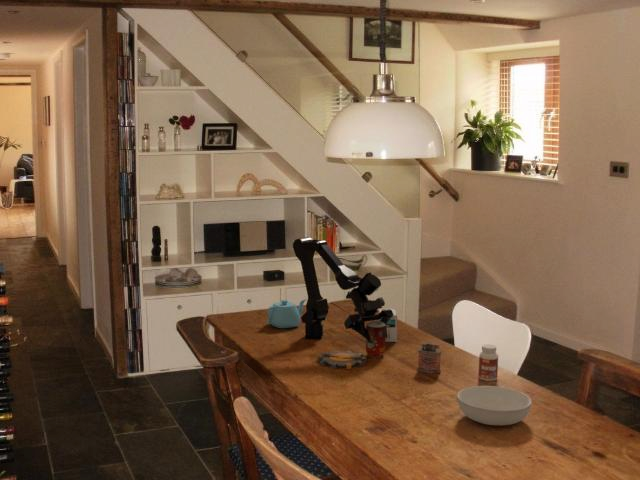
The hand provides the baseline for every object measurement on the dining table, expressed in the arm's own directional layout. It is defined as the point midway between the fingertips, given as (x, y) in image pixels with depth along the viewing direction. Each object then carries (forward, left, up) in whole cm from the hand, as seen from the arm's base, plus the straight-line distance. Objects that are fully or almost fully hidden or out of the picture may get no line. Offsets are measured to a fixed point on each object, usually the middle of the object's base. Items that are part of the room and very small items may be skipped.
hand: (377, 338), depth 294 cm
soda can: (-1, +1, -7) cm, 7 cm away
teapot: (-37, +41, -7) cm, 56 cm away
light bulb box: (+4, +24, -7) cm, 25 cm away
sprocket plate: (-13, -7, -7) cm, 16 cm away
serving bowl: (+32, -59, -7) cm, 68 cm away
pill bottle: (+36, -22, -7) cm, 43 cm away
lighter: (+17, -16, -7) cm, 24 cm away
